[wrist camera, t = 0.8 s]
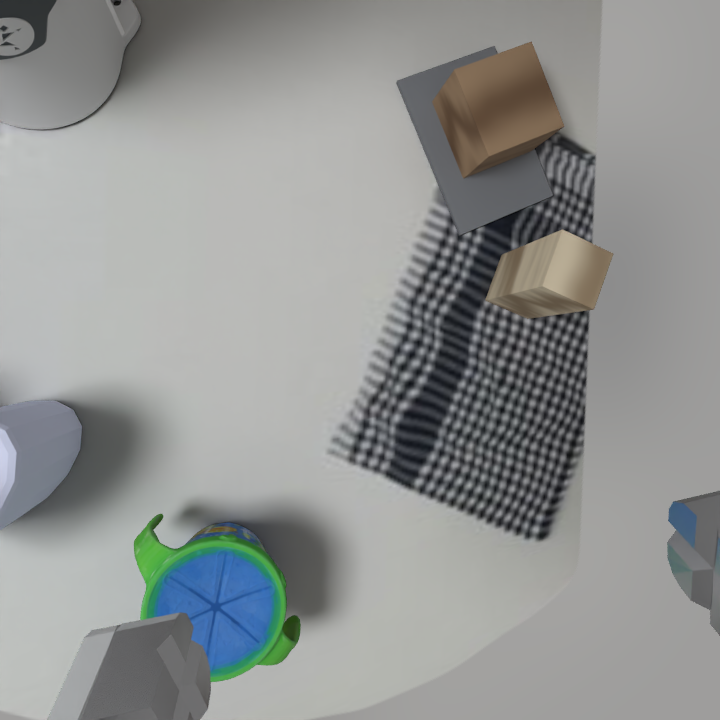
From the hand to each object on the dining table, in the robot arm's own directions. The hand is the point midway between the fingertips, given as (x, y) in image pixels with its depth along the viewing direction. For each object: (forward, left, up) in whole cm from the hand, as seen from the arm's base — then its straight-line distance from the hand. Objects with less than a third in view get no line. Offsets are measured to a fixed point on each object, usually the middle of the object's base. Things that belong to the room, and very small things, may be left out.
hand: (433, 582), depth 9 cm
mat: (-16, +27, -42) cm, 53 cm away
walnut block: (-17, +28, -42) cm, 53 cm away
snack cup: (+11, -12, -42) cm, 45 cm away
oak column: (-1, +26, -42) cm, 49 cm away
